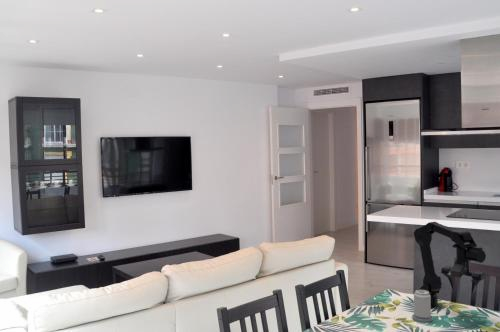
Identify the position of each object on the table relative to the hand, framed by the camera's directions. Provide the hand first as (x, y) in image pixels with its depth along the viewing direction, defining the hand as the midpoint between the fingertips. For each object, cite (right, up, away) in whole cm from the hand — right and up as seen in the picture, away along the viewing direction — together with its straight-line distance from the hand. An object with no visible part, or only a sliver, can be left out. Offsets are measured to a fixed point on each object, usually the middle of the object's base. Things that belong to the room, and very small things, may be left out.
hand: (462, 291), depth 227 cm
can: (-19, -12, +1) cm, 22 cm away
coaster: (-19, -13, +1) cm, 23 cm away
